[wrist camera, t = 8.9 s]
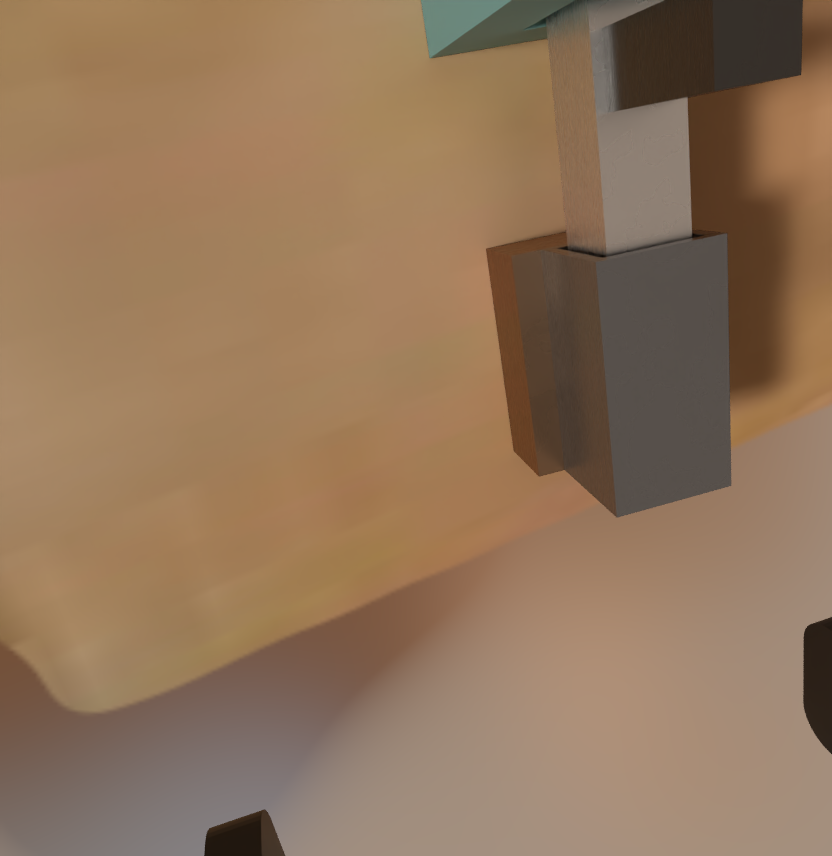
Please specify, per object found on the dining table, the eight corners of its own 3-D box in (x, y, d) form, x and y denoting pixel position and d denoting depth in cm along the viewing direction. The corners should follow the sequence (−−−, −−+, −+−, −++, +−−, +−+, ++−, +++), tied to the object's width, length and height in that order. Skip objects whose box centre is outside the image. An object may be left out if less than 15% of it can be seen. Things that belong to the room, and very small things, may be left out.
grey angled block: (648, 300, 35) (808, 347, 25) (574, 318, 35) (707, 372, 25) (627, -72, 30) (822, -206, 19) (538, -59, 29) (692, -189, 19)
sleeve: (651, 415, 43) (758, 477, 34) (513, 451, 42) (587, 525, 33) (639, 216, 39) (758, 226, 30) (486, 248, 38) (561, 269, 29)
